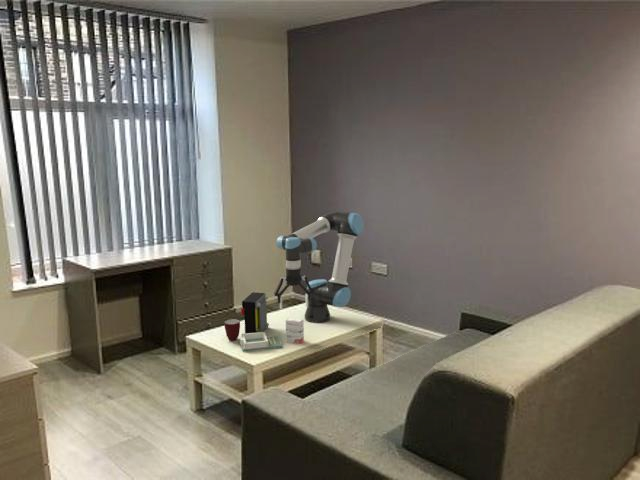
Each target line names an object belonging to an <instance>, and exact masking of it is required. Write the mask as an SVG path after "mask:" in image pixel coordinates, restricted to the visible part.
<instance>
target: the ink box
mask: <svg viewBox="0 0 640 480" xmlns="http://www.w3.org/2000/svg"><path fill="white" fill-rule="evenodd" d="M304 320H305V319H302V318H293V317H292V318H291V317H289V318H287V319H286V320H285V342H286V343H289V344H299V345H301V344H302V343H303V342H304V341H305V339H304V336H305V335H304V333H305V331H304V330H305V327H304V322H305V321H304Z"/></svg>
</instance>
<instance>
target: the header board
mask: <svg viewBox="0 0 640 480" xmlns="http://www.w3.org/2000/svg"><path fill="white" fill-rule="evenodd" d="M239 344H240V346H241V352H243V353H245V352H254V351H262V350H274V349H282V348H283V345H282V342H281V340H280V338H279V336H278V335H275V336H274V335H273V336H267V335H266V332H265V331H263V332H257V333H247V334H245V333H241V337H240V339H239Z"/></svg>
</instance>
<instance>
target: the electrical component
mask: <svg viewBox="0 0 640 480" xmlns="http://www.w3.org/2000/svg"><path fill="white" fill-rule="evenodd" d="M267 300H269V296H268V295H267V293H265V292H254V291H252V292H251V293H250V294H249V295H248V296H246V297H245V298H244V299H243V300H242V301H241V307H242V308H240V311H241V314H242V316H244V334H247V333H257V332H265V330H266V329H267V328H269V326H270V324H269V322H268V315H267V313H268V312H267V311H268V309H267Z"/></svg>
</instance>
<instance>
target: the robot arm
mask: <svg viewBox="0 0 640 480" xmlns="http://www.w3.org/2000/svg"><path fill="white" fill-rule="evenodd" d="M364 224H365V223H364V220H363V217H362V216H361V215H360V214H359V213H355V212H346V211H333V212H329V213H326V214H324V215H321V216H320V217H319V218H318V219H317V220H316V221H314V222H312V223H310V224H308V225H306V226H304V227H302V228H300V229H298V230H296V231H294V232H293V233H291V234H287V235H279V236H278V237H277V239H276V246H277V248H278V249H279V250H283V251H285V277H282V276H280V278H279V282H278V284H277V286H276V288H275V291H274V292H273V295H274V296H275V297H277V302H278V304H279V309H280V310H283V296H282V295H283V294H284V293H285V292H286V290H288V288H289V287H294V286H295V287H296V286H298V285H299V287H301V289H302V290H303V291H304V292H305V294H304V295H305V307H306V310H305V313H304V320H305V321H307V322H310V323H314V324H315V323H317V324H318V323H326V322H328V321H329V320H331V313H330V309H329V307H328V305H329V306H332V307H337V308H344V307H345V306H346V305H347V304H348V303H349V301H350V299H351V297H352V292H351V289H350V287H349V283H348V281H347V280H348V274H349V270H350V269H349V268H350V264H351V257H352V253H353V248H354V242H355V240H356V239H357V238H358V235H359V234H362V232H363V231H364ZM329 232H337V236H338V243H337V247H336V253H335V257H334V258H335V259H334V264H333V269H332V275H331V278H330V279H329V280H328V281H327V280H326V279H324V278H322V279H319V278H318V279H313V280H310V281H308V277H307V276H306V275H303V276H302V274H301V273H302V268H301V267H302V264H301V262H302V260H301V259H302V257H301V255H305V254H310V253H313V252H315V251H316V250H317V247H318V246H317V245H318V243H317V241H316V240H315V237H317V236H319V235H321V234H323V233H325V234H326V233H329ZM285 281H286V283H285V284H284V286H283V287H282V285H283V283H284V282H285ZM301 281H304V282H305V285H306V287H305V286H304V285H303V283H301ZM281 287H282V288H281Z"/></svg>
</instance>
